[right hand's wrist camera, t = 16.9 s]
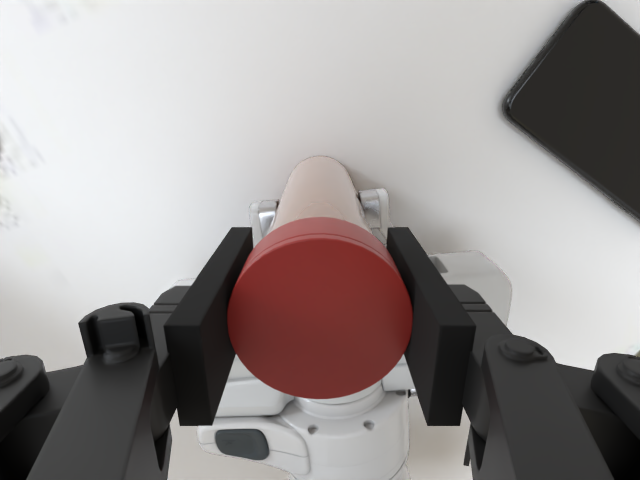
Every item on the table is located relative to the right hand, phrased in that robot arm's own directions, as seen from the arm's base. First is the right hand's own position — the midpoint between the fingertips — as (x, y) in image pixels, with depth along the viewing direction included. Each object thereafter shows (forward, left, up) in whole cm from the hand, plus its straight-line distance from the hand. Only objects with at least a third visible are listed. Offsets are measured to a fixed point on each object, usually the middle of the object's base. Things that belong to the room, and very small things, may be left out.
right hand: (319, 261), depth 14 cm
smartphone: (-19, -7, -13) cm, 24 cm away
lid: (0, 0, +4) cm, 4 cm away
